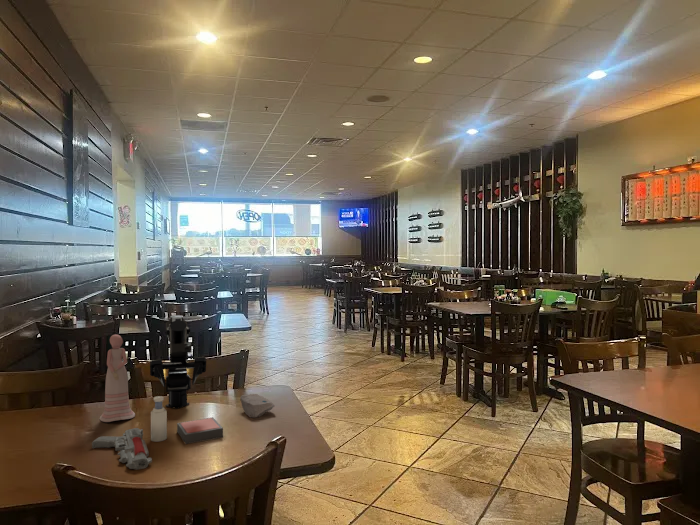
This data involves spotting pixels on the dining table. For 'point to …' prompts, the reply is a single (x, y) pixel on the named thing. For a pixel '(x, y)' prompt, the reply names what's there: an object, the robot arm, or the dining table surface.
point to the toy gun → (127, 448)
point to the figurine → (116, 384)
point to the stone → (255, 405)
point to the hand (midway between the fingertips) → (178, 385)
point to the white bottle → (158, 421)
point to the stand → (199, 430)
